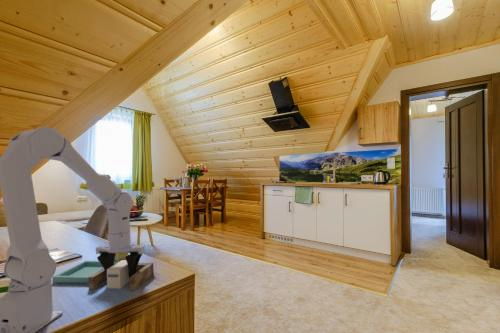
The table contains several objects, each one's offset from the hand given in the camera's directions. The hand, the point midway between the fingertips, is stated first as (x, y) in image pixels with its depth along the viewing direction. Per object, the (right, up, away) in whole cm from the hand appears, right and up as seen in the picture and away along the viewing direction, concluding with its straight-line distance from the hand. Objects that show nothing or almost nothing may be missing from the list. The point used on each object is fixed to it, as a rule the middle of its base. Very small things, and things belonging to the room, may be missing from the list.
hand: (121, 277), depth 75 cm
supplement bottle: (-10, -2, +18) cm, 21 cm away
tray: (-14, -2, +7) cm, 16 cm away
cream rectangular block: (0, -2, 0) cm, 2 cm away
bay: (0, -2, 0) cm, 2 cm away
